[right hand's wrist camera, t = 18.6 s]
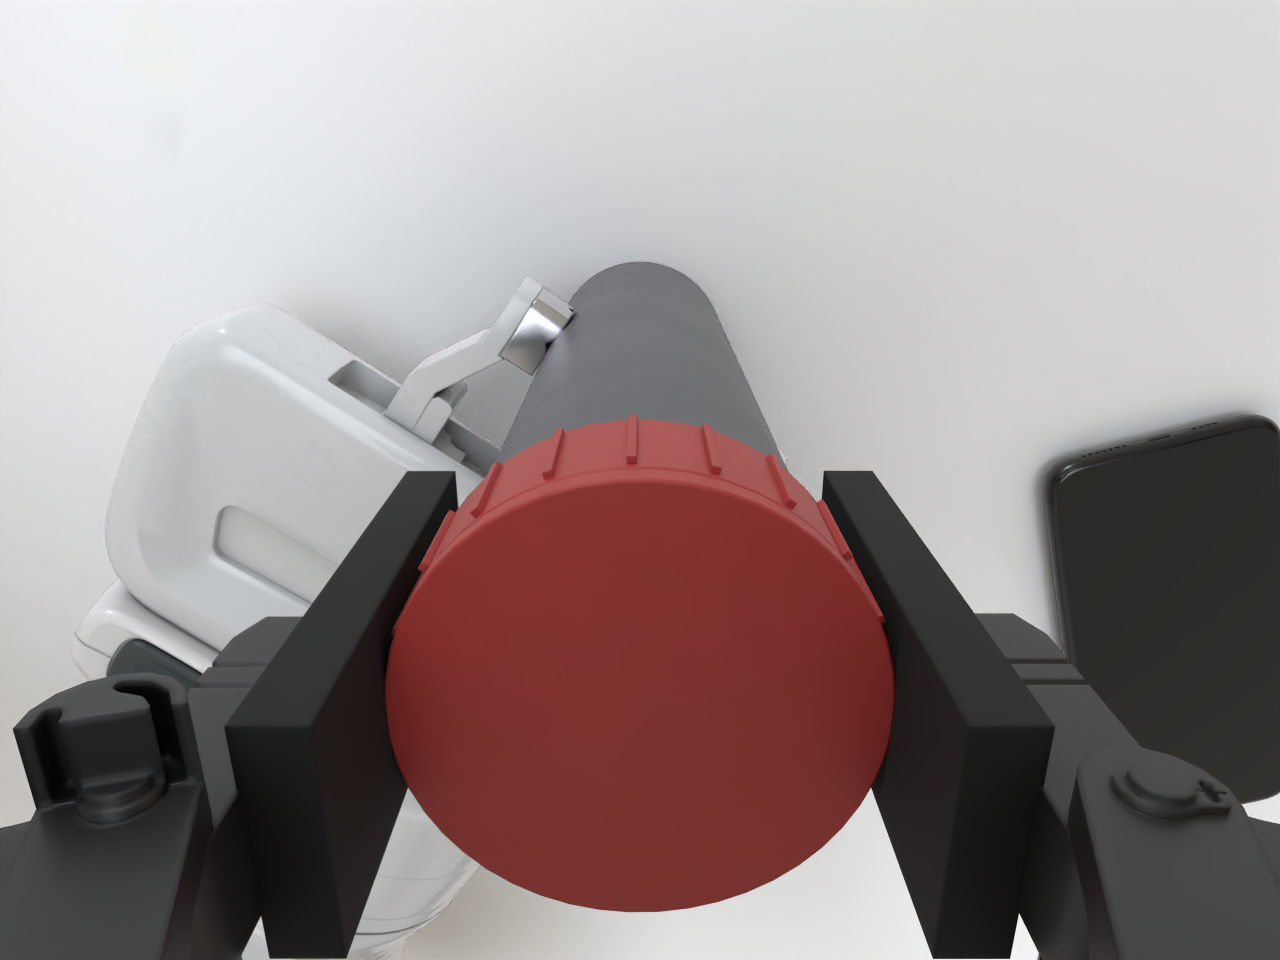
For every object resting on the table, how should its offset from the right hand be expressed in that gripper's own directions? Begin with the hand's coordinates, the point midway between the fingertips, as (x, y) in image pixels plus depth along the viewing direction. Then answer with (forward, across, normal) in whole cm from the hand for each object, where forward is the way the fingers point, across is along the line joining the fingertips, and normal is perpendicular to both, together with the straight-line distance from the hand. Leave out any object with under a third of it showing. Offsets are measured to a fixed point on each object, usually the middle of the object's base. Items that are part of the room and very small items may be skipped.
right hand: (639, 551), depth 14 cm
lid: (-4, 0, 0) cm, 4 cm away
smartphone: (+16, -19, +11) cm, 27 cm away
